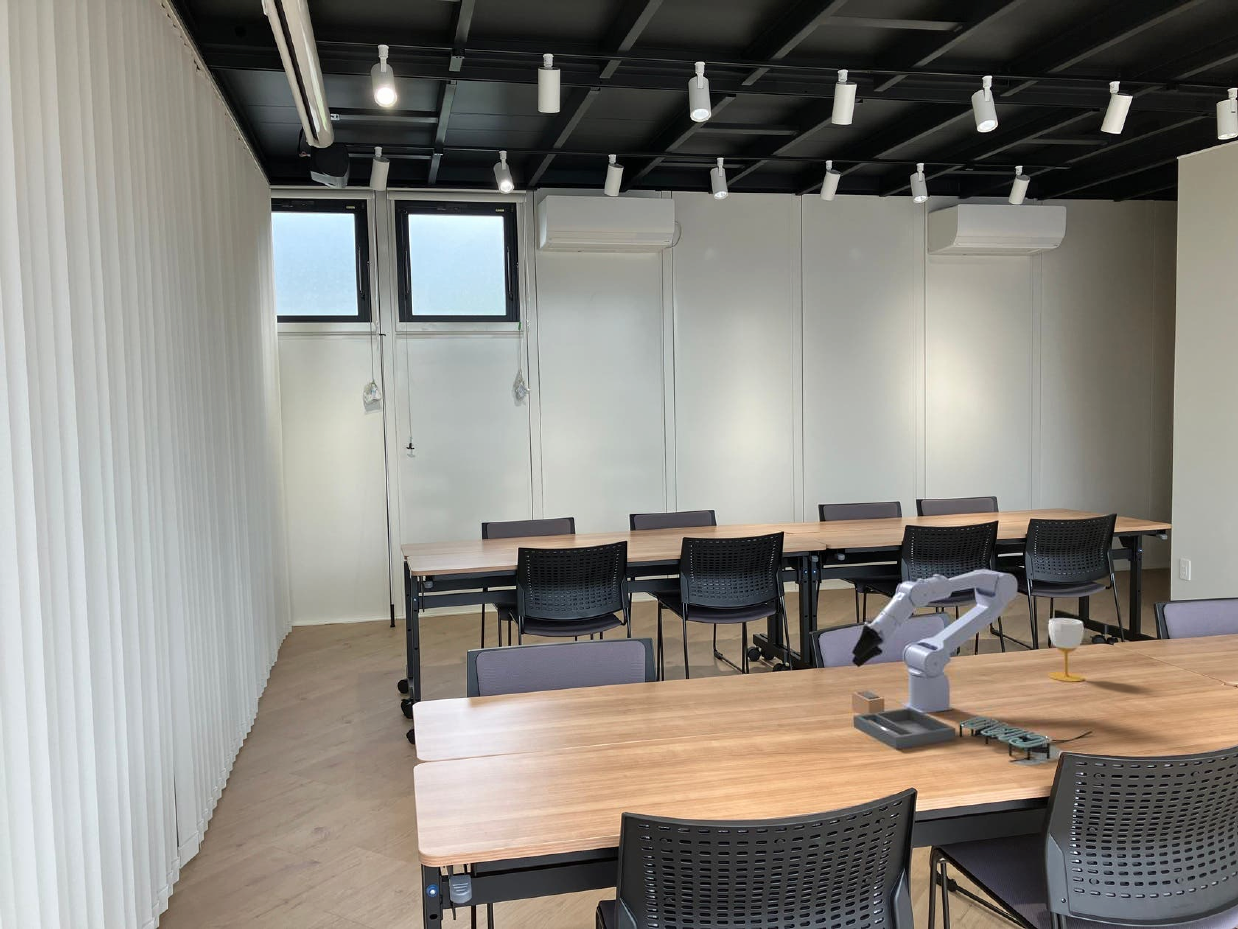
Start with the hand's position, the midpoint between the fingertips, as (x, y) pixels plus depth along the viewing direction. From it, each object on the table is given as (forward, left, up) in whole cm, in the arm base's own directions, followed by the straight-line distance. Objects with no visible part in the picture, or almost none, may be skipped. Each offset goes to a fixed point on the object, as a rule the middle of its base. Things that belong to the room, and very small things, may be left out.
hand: (855, 660), depth 210 cm
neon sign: (-27, +28, -15) cm, 41 cm away
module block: (-4, 0, -14) cm, 15 cm away
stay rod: (+2, +15, -14) cm, 20 cm away
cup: (-74, -6, -15) cm, 75 cm away
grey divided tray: (-3, +15, -14) cm, 21 cm away
